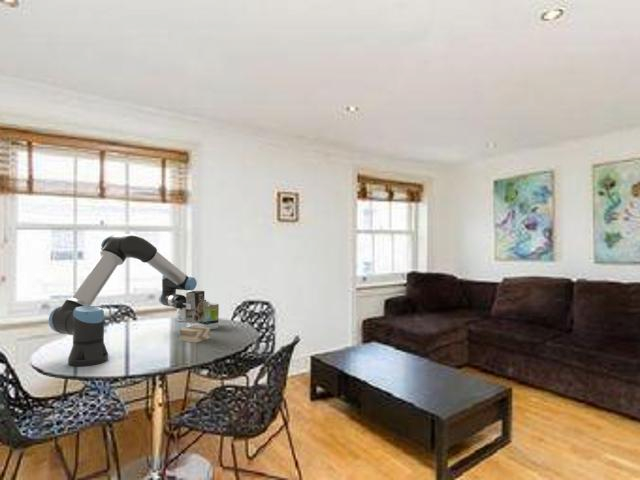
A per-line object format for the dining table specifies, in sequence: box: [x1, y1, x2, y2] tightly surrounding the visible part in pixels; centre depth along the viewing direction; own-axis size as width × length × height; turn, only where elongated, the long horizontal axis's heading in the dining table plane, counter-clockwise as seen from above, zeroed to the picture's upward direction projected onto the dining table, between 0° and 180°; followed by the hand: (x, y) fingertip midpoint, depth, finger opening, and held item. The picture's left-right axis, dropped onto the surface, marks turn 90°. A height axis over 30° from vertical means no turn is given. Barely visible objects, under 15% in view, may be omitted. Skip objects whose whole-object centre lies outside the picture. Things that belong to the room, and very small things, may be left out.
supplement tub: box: [176, 308, 186, 323], centre depth 266 cm, size 10×10×15 cm
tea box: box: [191, 302, 220, 330], centre depth 245 cm, size 15×10×15 cm, turn 49°
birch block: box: [179, 325, 211, 344], centre depth 216 cm, size 11×11×6 cm
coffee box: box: [185, 290, 205, 324], centre depth 216 cm, size 9×6×16 cm
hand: (199, 305), depth 214 cm, fingers closed on coffee box, 11 cm apart
